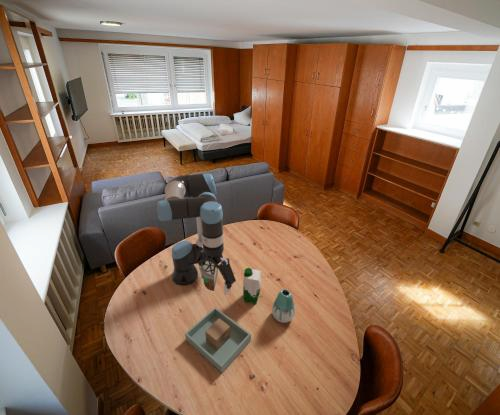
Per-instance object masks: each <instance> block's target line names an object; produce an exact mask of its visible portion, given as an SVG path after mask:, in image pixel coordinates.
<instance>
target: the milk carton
mask: <svg viewBox="0 0 500 415" xmlns="http://www.w3.org/2000/svg"><path fill="white" fill-rule="evenodd" d="M261 272H262V271H261V270H259V269H253V268H250V267H247V268H245V269H244V272H243V277H242V278H243V281H242V282H243V284H242V289H243V295H242V296H243V302H244V303H250V304H255V305H256V304H257V303H258V300H259V297H260V292H261V282H262V281H261V280H262V276H261V274H262V273H261Z"/></svg>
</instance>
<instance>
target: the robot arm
mask: <svg viewBox="0 0 500 415" xmlns="http://www.w3.org/2000/svg"><path fill="white" fill-rule="evenodd" d="M164 193H165V198H164V199H163V200H158V201H157V204H156V212H157V217H158V220H159V221H161V222H163V221H165V222H166V221H176V220H183V219H185V220H186V219H192V218H194V219H195V220H196V228H197V239H196V241H195V243H192V242H191V241H190V240H181V241H178V242H176V244H174V245H173V246H172V248H171V257H172V262H173V263H172V264H173V272H172V274H171V276H172V281H173V283H175V285H178V286H182V287H183V286H188V285H191V284H193V283H195V281H197V280H198V277H199V271H200V278H201V279H203V274H202V273H201V269H200V268H201V264H202V263H204V262H205V261H207V260H209V261H210V262H211V263H213V264H214V265H215V266H216V268H218V272H220V274H221V277H222V278H223V279H224V282H223V288H224V290H223V291H224V292H223V293H224V295H225V296H227V295H228V294H230V292H231V290H232V289H231V288H232V287H233V284H234V283H235V282H236V281H237V279H236V277H235V274H234V271H233V269H232V266H231V264H230V263H231V262H230V259H229V258H225V257H223V252H224V228H223V227H224V226H223V225H224V224H223V223H224V221H223V217H224V213H223V206H222V205H221V203H219V201H218V199H217V197H216V195H217V187H216V184H215V180H214V177H213V175H212V173H193V174H183V175H182V174H181V175H178V176H176V177H173V178H171V179H170V180H169V181H168V182H167V183H166V184H165V188H164ZM197 264H198V267H199V271H198V269H197V267H196V265H197Z"/></svg>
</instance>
